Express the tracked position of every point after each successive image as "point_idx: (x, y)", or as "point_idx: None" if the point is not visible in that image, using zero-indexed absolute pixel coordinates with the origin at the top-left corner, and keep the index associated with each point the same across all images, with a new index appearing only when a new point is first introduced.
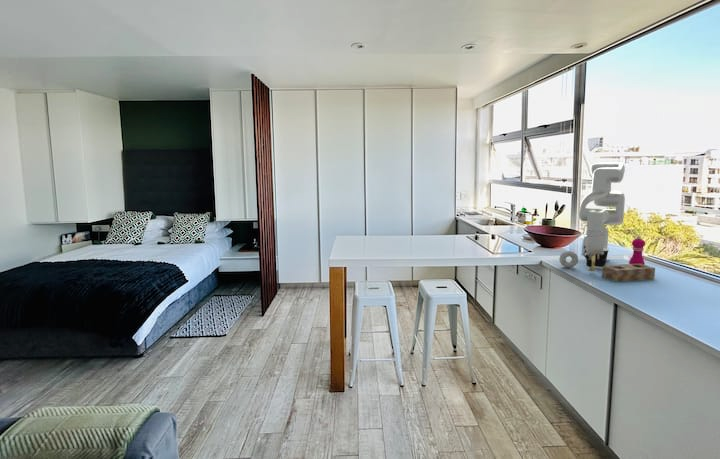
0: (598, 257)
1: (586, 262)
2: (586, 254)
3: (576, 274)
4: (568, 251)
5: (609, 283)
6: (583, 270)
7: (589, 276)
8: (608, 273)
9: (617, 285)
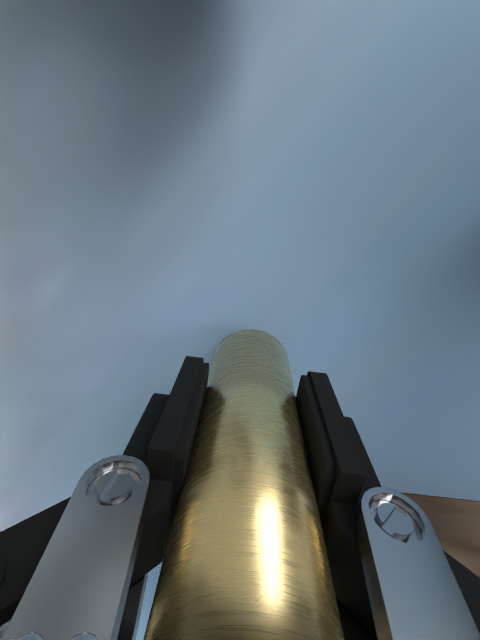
0: (364, 636)
1: (144, 412)
2: (15, 630)
3: (39, 332)
4: None
5: (145, 596)
6: (262, 205)
7: (130, 432)
8: None
9: None
